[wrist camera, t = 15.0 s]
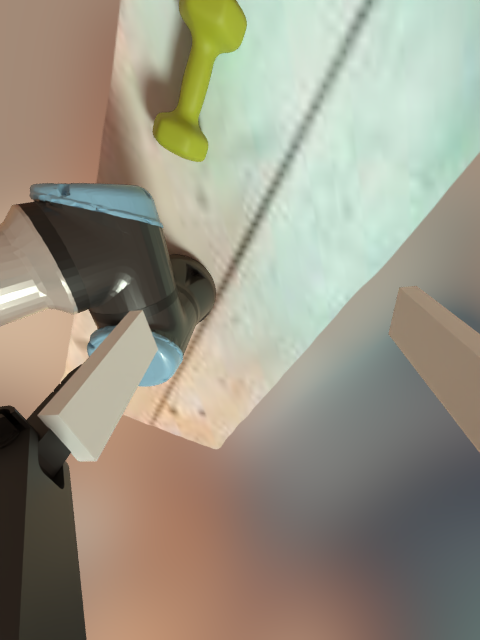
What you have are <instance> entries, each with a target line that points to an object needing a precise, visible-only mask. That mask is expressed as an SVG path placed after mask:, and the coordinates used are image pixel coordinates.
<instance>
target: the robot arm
mask: <svg viewBox="0 0 480 640" xmlns="http://www.w3.org/2000/svg"><path fill="white" fill-rule="evenodd" d="M30 197H31V199H33V200H34V201H35V202H30V203H23V204H16V205H12V206H11V208H10V210H9V212H8V214H7V216H6V218H5V220H4V222H2V223H1V224H0V326H3V325H5V324H8V323H11V322H14V321H17V320H19V319H22V318H25V317H28V316H30V315H33V314H36V313H38V312H41V311H44V310H47V309H56V310H60V311H64V312H66V313H70V314H73V315H74V314H77V313H80V312H82V311H85V310H87V309H89V311H90V313H91V315H92V317H93V320H94V322H95V324H96V326H97V329H98V330H96V331H95V332H94V333H92V335H91V336H90V341H89V343H88V345H87V352H88V355H89V358H88V359H87V360H86V361H85V362H84V363H83V364H81V365H80V366H78V367H77V368H75V369H74V370H73V371H71V372H70V373H69V374H68V375H67V376H66V377H65V378H64V379H63V380H62V382H61V384H59V385H58V386H57V387H56V388H55V389H54V392H52V393H51V394H50V395H49V396H48V397H47V398H46V399H45V400H44V401H43V402H42V403H41V405H40V406H39V407H38V408H37V409H36V410H35V411H34V412H33V413H32V415H31V416H30V417H29V418H28V419H27V420H26V419H25V418H24V417H23V416H22V415H21V414H20V413H19V412H18V411H17V410H16V409H15V408H14V407H12V406H2V407H0V640H86V631H85V621H84V611H83V601H82V591H81V581H80V571H79V561H78V551H77V541H76V532H75V521H74V512H73V501H72V492H71V481H70V472H69V466H68V464H67V462H66V461H65V460H66V459H67V457H68V456H69V454H70V453H72V455H73V456H74V457H75V458H76V459H77V460H78V461H97V460H98V458H99V456H100V455H101V453H102V451H103V449H104V447H105V445H106V443H107V442H108V440H109V438H110V436H111V434H112V433H113V431H114V429H115V427H116V425H117V423H118V422H119V420H120V418H121V416H122V414H123V413H124V411H125V409H126V407H127V405H128V403H129V402H130V400H131V398H132V396H133V394H134V392H135V391H136V389H137V387H138V386H155V385H159V384H162V383H164V382H166V381H167V380H168V379H170V378H171V377H172V376H173V375H174V373H175V372H176V370H177V368H178V367H179V365H180V364H181V362H182V360H183V355H184V353H185V350H186V348H187V345H188V343H189V340H190V338H191V336H192V333H193V331H194V328H195V326H196V325H197V324H198V323H199V322H201V321H202V320H203V319H205V318H206V317H207V316H208V314H209V313H210V312H211V310H212V308H213V305H214V302H215V298H216V288H215V284H214V281H213V279H212V277H211V275H210V274H209V272H208V271H207V270H206V269H205V268H204V267H203V266H202V265H201V264H200V263H198V262H197V261H195V260H193V259H191V258H189V257H186V256H182V255H169V253H168V249H167V245H166V241H165V237H164V233H163V229H162V228H163V224H162V223H161V222H160V220H159V216H158V213H157V210H156V206H155V203H154V200H153V198H152V196H151V195H150V193H149V192H148V191H147V190H145V189H144V188H142V187H139V186H134V185H122V184H87V183H71V184H53V183H49V184H48V183H47V184H34V185H31V187H30ZM389 335H390V337H391V338H392V339H393V341H394V342H395V343H396V345H397V346H398V347H399V348H400V350H401V351H402V352H403V353H404V355H405V356H406V358H407V359H408V360H409V361H410V363H411V364H412V365H413V367H414V368H415V369H416V371H417V372H418V373H419V374H420V376H421V377H422V378H423V380H424V381H425V382H426V384H427V385H428V386H429V387H430V389H431V390H432V391H433V393H434V394H435V395H436V396H437V398H438V399H439V400H440V402H441V403H442V404H443V406H444V407H445V408H446V410H447V411H448V412H449V413H450V415H451V416H452V417H453V419H454V420H455V421H456V423H457V424H458V425H459V427H461V429H462V430H463V432H464V433H465V434H466V436H467V437H468V438H469V440H470V441H471V442H472V443H473V445H474V446H475V447H476V449H477V450H478V451H479V452H480V334H479V333H477V332H476V331H475V330H473V329H472V328H471V327H469V326H468V325H467V324H466V323H464V322H463V321H462V320H460V319H459V318H458V317H456V316H455V315H454V314H452V313H451V312H450V311H449V310H447V309H446V308H445V307H443V306H442V305H441V304H439V303H438V302H437V301H435V300H434V299H433V298H432V297H430V296H429V295H428V294H426V293H425V292H424V291H422V290H421V289H420V288H418V287H417V286H412V287H400V288H399V291H398V295H397V300H396V304H395V308H394V313H393V317H392V321H391V326H390V330H389Z"/></svg>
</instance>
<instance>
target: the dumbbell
mask: <svg viewBox="0 0 480 640" xmlns="http://www.w3.org/2000/svg"><path fill="white" fill-rule="evenodd" d="M179 11H180V14H181V17H182V19H183V20H184V22H185V23H186V25H187V26H188V28H189V29H190V32H191V35H192V47H191V51H190V55H189V58H188V61H187V65H186V68H185V72H184V75H183V80H182V85H181V91H180V97H179V102H178V105H177V107H176V109H175V110H174V111H172V112H164V113H159V114H158V115H157V116H156V118H155V121H154V125H153V135H154V137H155V139H156V140H157V141H158V143H159V144H160V145H161V146H163V147H164V148H166V149H167V150H169V151H170V152H172V153H174V154H176V155H178V156H180V157H182V158H185V159H188V160H191V161H195V162H201V161H203V160H204V159H205V157H206V154H207V150H208V141H207V139H206V137H205V135H204V134H203V132H202V131H201V129H200V127H199V124H198V118H199V114H200V111H201V108H202V105H203V102H204V99H205V95H206V92H207V89H208V85H209V81H210V77H211V73H212V68H213V64H214V61H215V59H216V57H217V56H218V55H219V54H221V53H230V52H233V51H235V50H236V49H238V48H239V46H240V45H241V43H242V40H243V37H244V34H245V31H246V27H247V21H246V17H245V15H244V13H243V11H242V9H241V7H240V6H239V4H238V3H237V1H236V0H179Z"/></svg>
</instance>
